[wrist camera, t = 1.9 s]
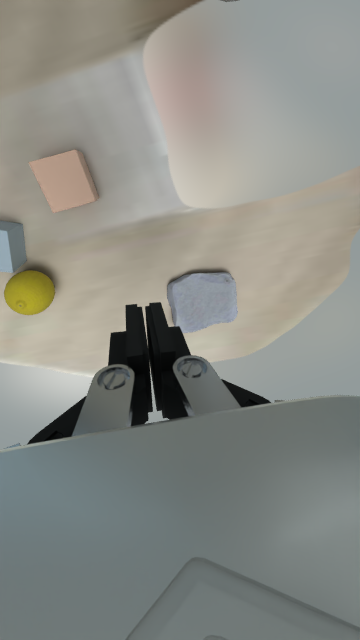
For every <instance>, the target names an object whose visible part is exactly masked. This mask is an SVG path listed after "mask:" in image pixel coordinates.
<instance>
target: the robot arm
mask: <svg viewBox="0 0 360 640" xmlns="http://www.w3.org/2000/svg"><path fill="white" fill-rule="evenodd" d="M222 1H225V2H227V1H237V0H222ZM145 310H146V324H147V339H148V345H147V339H146V332H145V325H144V318H143V312H142V307H137V304H133V305H126V331H124V332H114V333H111V337H110V349H109V362H108V366H107V367H104V368H103V369H101V370H99V371H98V372H97V373H96V374H95V376H94V378H93V380H92V383H91V386H90V388H89V391H88V394H87V396H85V397H84V398H83V399H81V400H80V401H79V402H78V403H76V404H75V405H74V406H72V407H71V408H70V409H68V410H67V411H66V412H65V413H63V414H62V415H61V416H59V417H58V418H57V419H56V420H54V421H53V422H52V423H50V424H49V425H48V426H46V427H45V428H44V429H43V430H41V431H40V432H39V433H38V434H36V435H35V436H34V437H33V438H32V439H31V440H30V441H29V443H28V444H27V445H23V446H21V445H20V443H19V444H16V445H13V446H10V447H7V448H4V449H1V450H0V640H360V396H349V395H331V396H318V397H310V398H303V399H294V400H288V401H282V400H281V401H280V400H275V402H274V403H271V402H270V401H269V400H267V399H265V398H263V397H261V396H259V395H257V394H254V393H252V392H250V391H248V390H245V389H243V388H241V387H238V386H236V385H234V384H232V383H229V382H227V381H225V380H222V379H220V377H219V376H218V375H217V373H216V372H215V370H214V369H213V368H212V366H211V365H210V363H209V362H208V361H207V360H205V359H204V358H202V357H199V356H193V355H191V354H190V351H189V349H188V346H187V344H186V341H185V339H184V336H183V333H182V331H181V328H180V326H175V327H168V324H167V321H166V318H165V314H164V311H163V308H162V305H161V302H158V303H149V306H145ZM149 361H150V363H149ZM150 368H151V375H152V381H153V388H154V395H155V401H156V407H157V408H156V409H157V411H161V410H162V415H163V418H168V419H170V420H166V421H159V422H153V423H148V424H145V422H146V421H148V412H153V407H152V393H151V378H150Z"/></svg>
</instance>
